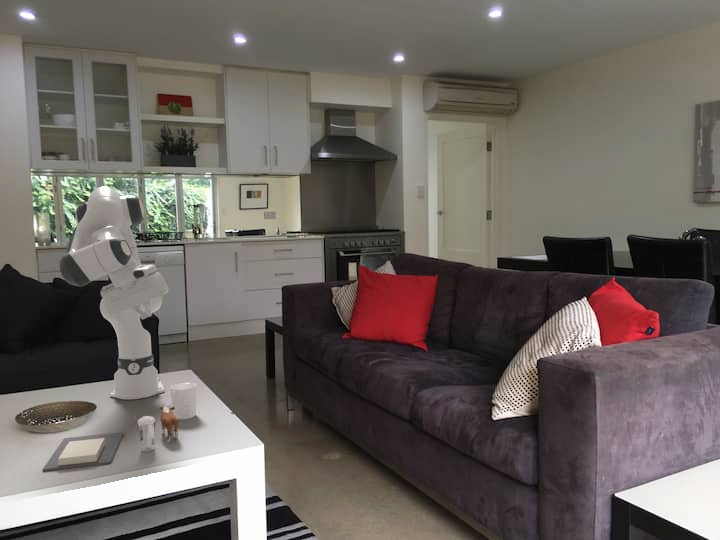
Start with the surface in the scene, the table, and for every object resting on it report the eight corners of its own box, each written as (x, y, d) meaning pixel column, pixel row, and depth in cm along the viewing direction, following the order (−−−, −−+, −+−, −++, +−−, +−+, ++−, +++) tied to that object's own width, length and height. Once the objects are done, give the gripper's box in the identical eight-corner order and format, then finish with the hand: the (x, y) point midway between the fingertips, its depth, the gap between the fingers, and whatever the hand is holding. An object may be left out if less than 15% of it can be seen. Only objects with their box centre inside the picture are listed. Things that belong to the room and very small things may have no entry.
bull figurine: (174, 427, 176) (173, 401, 175) (181, 442, 164) (179, 414, 163) (159, 430, 174) (157, 403, 173) (164, 445, 162) (163, 417, 161)
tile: (69, 441, 159) (58, 458, 148) (104, 437, 161) (96, 454, 150) (69, 448, 159) (58, 466, 148) (104, 444, 162) (96, 461, 150)
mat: (64, 440, 167) (64, 438, 167) (123, 434, 171) (123, 432, 171) (42, 471, 146) (42, 469, 146) (110, 463, 150) (110, 461, 150)
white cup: (190, 421, 181) (188, 389, 181) (167, 419, 183) (165, 388, 182) (202, 412, 189) (200, 382, 188) (179, 411, 191) (178, 382, 190)
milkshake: (133, 450, 159) (131, 414, 158) (153, 445, 162) (151, 410, 161) (138, 455, 155) (136, 418, 155) (159, 449, 159) (157, 414, 158)
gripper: (92, 291, 176) (113, 331, 178) (150, 267, 172) (171, 309, 175) (103, 286, 182) (123, 325, 184) (159, 262, 178) (179, 303, 181)
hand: (147, 317), depth 179 cm, fingers closed
